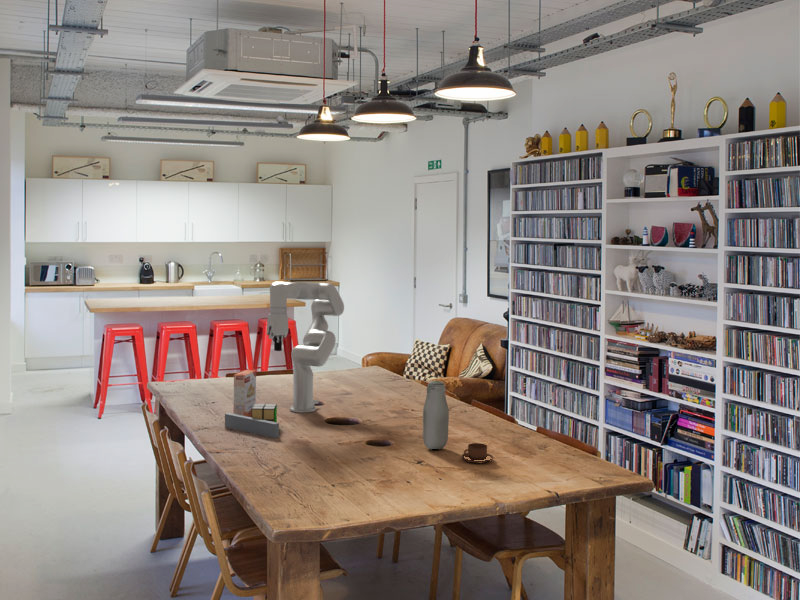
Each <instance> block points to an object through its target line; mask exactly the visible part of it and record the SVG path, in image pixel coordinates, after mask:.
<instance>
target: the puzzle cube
mask: <svg viewBox="0 0 800 600" xmlns="http://www.w3.org/2000/svg"><path fill="white" fill-rule="evenodd" d="M277 411H278V404H277V403H266V404H265V403H256V404H254V406H253V408H252V412H251V416H250V417H252V418H257V419H262V420H266V421H271V422H276V423H278V419H277V418H278V415H277V414H278V412H277Z"/></svg>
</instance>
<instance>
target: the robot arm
mask: <svg viewBox="0 0 800 600" xmlns="http://www.w3.org/2000/svg"><path fill="white" fill-rule="evenodd" d="M287 299H289V300H291V299H292V300H293V299H294V300H304V301H305V300H307V301H308V300H310V301H312V302H311V307H310V308H311V316H312V321H311V324H310V325H309V327H308V330H307V331H306V333H305V335H304V336H303V338H302V344H301V345H300V344H299V345H296V346H294V347H293V348H292V350H291V352H290V354H291V362H292V371H293V373H292V374H293V379H292V380H293V384H292V386H293V387H292V390H293V391H292V393H293V394H292V406H290V407H289V411H291V412H292V413H299V414H300V413H302V414H304V413H312V412H315V411H316V410H317V407H316V406H315V405H318V404H319V403H320V401H319V399H314V372H313V369H312V368H311V367H318V368H319V367H323V366H325V364H326V363H327V361H328V359H329V357H330V356H331V354H332V352H333V350H334V348H335V345H336V335H335V333H334V332H332V331H331V330H329V324H328V321H327V320H326V317H325V316H330V317H339V316H342V314H344V311H345V304H344V300H343V298H342V297H341V295H340V293H339V291H338V289H337V288H336V286H335V285H334V284H332V283H330V282H316V281H315V282H313V281H289V282H288V281H274V282H272V283H271V284H270V287H269V313H268V315H267V321H266V335H267V336H268V339H270V340H272V342H273V344H274V345H273V350H274V351H275V352H282V349H283V342H284V339H285V338H287V336H288V333H289V318H288V313H287V310H288V308H287V307H288V306H287V305H288V303H287Z"/></svg>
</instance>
